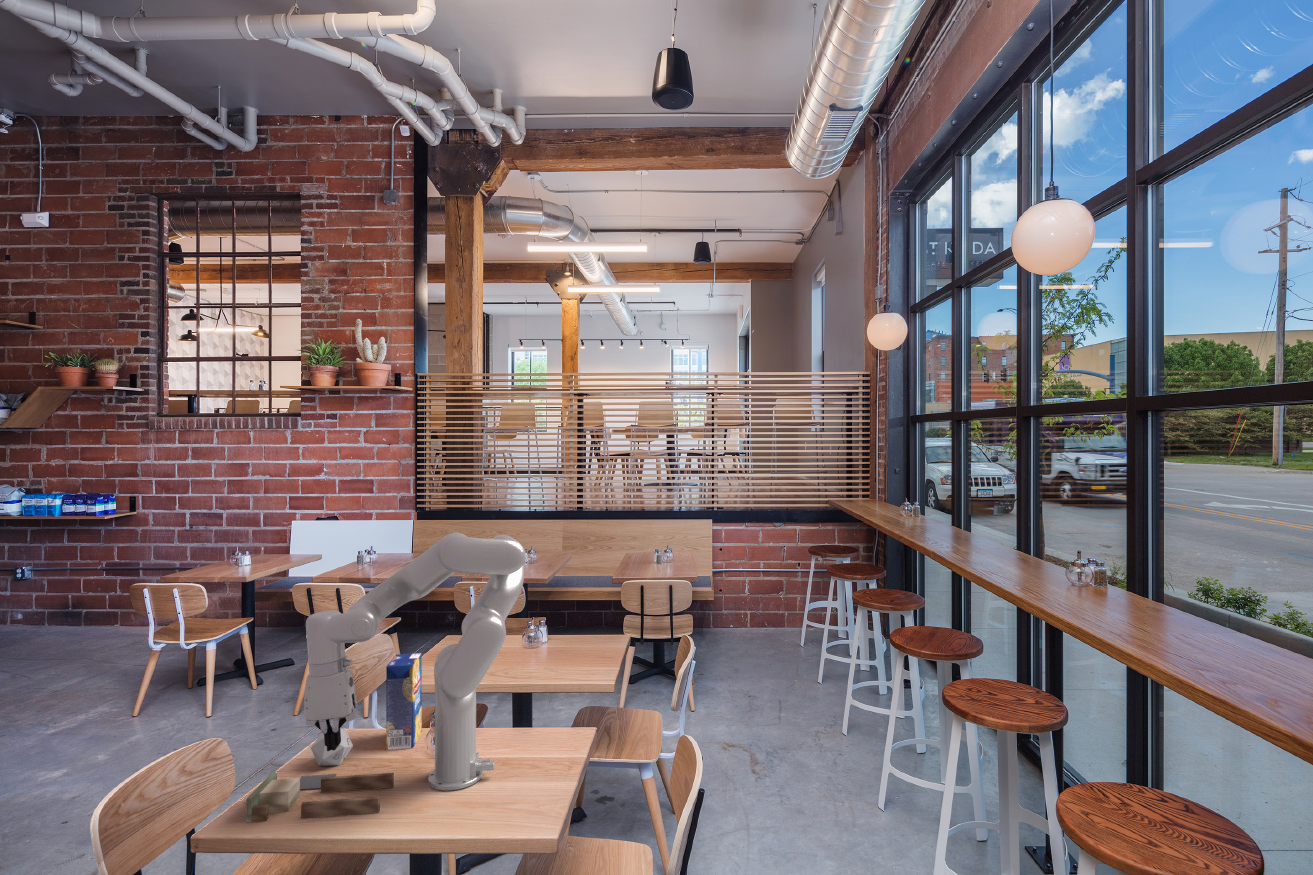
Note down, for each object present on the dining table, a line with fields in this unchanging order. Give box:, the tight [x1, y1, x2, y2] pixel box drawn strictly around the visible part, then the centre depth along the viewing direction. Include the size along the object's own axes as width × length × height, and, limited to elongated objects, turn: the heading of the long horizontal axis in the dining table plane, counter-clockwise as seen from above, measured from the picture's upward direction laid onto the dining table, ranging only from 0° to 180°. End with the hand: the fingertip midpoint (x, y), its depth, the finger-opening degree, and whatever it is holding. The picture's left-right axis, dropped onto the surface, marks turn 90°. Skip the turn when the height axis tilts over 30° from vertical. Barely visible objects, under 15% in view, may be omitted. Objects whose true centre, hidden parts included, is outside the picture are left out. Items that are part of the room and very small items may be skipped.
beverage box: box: [385, 652, 423, 751], centre depth 180 cm, size 7×11×22 cm, turn 8°
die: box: [310, 728, 354, 767], centre depth 167 cm, size 8×9×10 cm
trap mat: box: [299, 773, 337, 791], centre depth 156 cm, size 8×7×1 cm
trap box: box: [245, 771, 395, 823], centre depth 147 cm, size 27×12×5 cm, turn 97°
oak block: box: [259, 777, 301, 814], centre depth 146 cm, size 6×6×4 cm
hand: (333, 747), depth 148 cm, fingers closed
